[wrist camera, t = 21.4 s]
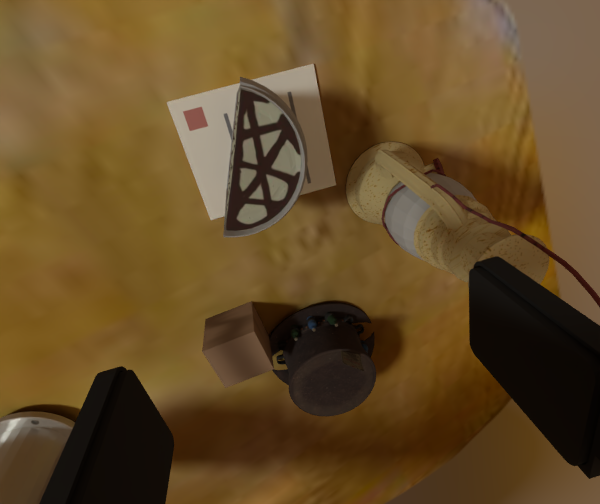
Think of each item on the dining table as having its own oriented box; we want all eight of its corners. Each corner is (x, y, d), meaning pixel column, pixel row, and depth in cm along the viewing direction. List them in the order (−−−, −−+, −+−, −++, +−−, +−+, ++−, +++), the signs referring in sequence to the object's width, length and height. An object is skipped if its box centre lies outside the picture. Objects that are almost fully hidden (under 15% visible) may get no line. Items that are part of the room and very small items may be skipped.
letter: (210, 219, 39) (210, 220, 39) (167, 101, 34) (166, 102, 33) (335, 184, 40) (336, 185, 40) (312, 63, 34) (313, 63, 34)
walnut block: (226, 352, 48) (225, 387, 42) (205, 318, 45) (202, 351, 40) (269, 335, 48) (273, 369, 42) (251, 300, 45) (254, 331, 40)
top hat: (382, 364, 54) (414, 425, 44) (286, 399, 53) (298, 468, 44) (360, 282, 47) (392, 334, 37) (249, 323, 46) (253, 385, 37)
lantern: (446, 198, 43) (793, 403, 16) (375, 245, 44) (592, 507, 18) (402, 108, 38) (813, 198, 11) (323, 165, 39) (522, 369, 12)
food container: (282, 210, 40) (296, 250, 31) (224, 203, 38) (222, 243, 30) (303, 88, 35) (327, 94, 26) (238, 75, 33) (240, 77, 25)
